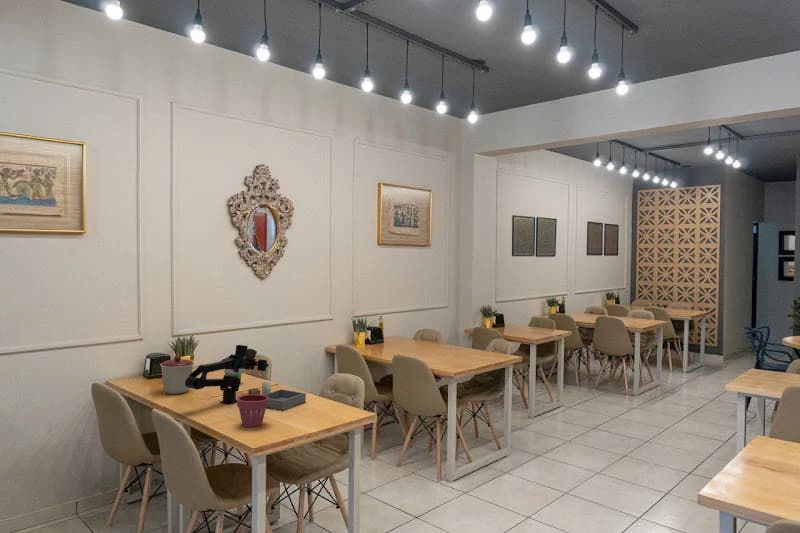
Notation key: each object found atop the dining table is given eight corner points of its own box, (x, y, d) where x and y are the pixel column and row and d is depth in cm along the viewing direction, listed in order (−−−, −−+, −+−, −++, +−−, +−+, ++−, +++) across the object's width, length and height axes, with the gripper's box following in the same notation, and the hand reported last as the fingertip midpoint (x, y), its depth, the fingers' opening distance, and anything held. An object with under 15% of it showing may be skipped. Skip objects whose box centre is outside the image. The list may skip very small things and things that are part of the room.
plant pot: (270, 420, 264) (271, 394, 264) (264, 429, 250) (265, 401, 250) (240, 419, 263) (241, 393, 263) (232, 428, 249) (233, 401, 249)
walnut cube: (260, 399, 302) (260, 390, 302) (251, 400, 299) (251, 391, 299) (256, 397, 306) (256, 388, 306) (248, 398, 303) (248, 389, 303)
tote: (282, 411, 280) (282, 401, 280) (256, 406, 288) (256, 396, 288) (305, 402, 298) (305, 393, 298) (280, 397, 305) (281, 389, 305)
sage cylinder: (266, 396, 308) (266, 384, 308) (259, 395, 310) (260, 382, 310) (272, 394, 313) (272, 382, 313) (265, 393, 315) (266, 381, 315)
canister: (160, 389, 317) (161, 353, 317) (193, 387, 323) (194, 352, 323) (158, 397, 300) (159, 359, 300) (193, 395, 306) (194, 357, 306)
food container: (229, 387, 327) (230, 370, 327) (223, 385, 331) (224, 369, 331) (246, 383, 337) (247, 367, 337) (240, 382, 341) (241, 366, 341)
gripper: (257, 350, 299) (276, 351, 313) (233, 348, 308) (252, 349, 321) (255, 371, 297) (274, 371, 311) (230, 368, 306) (249, 368, 320)
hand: (262, 364), depth 316 cm, fingers open, 9 cm apart
